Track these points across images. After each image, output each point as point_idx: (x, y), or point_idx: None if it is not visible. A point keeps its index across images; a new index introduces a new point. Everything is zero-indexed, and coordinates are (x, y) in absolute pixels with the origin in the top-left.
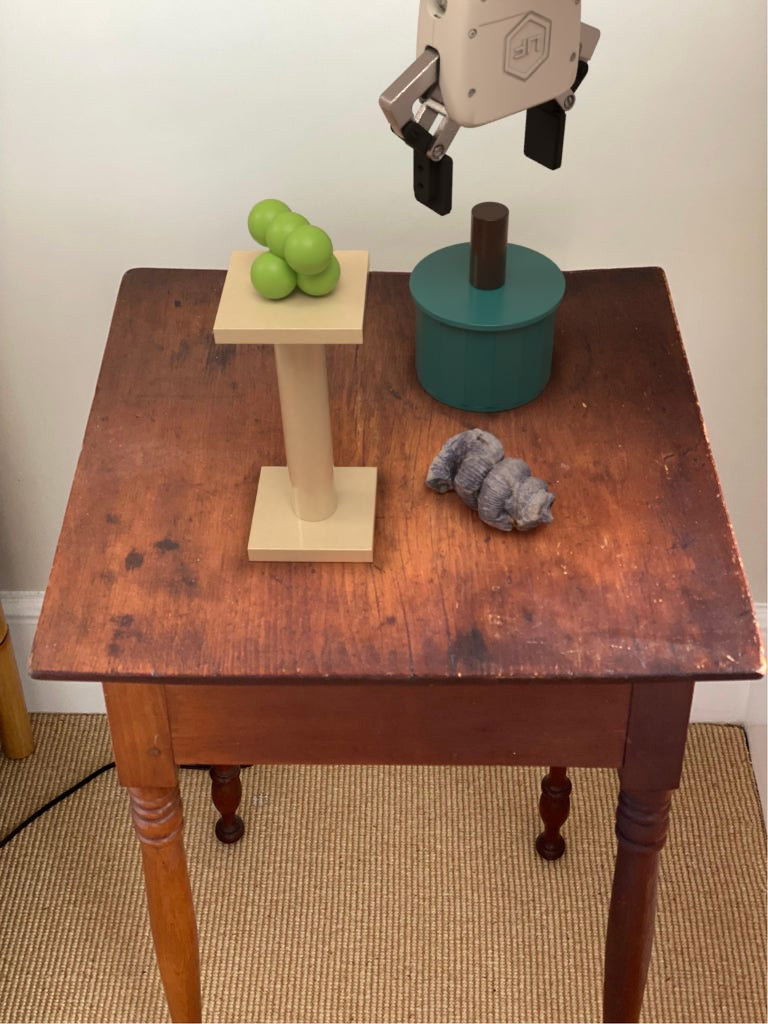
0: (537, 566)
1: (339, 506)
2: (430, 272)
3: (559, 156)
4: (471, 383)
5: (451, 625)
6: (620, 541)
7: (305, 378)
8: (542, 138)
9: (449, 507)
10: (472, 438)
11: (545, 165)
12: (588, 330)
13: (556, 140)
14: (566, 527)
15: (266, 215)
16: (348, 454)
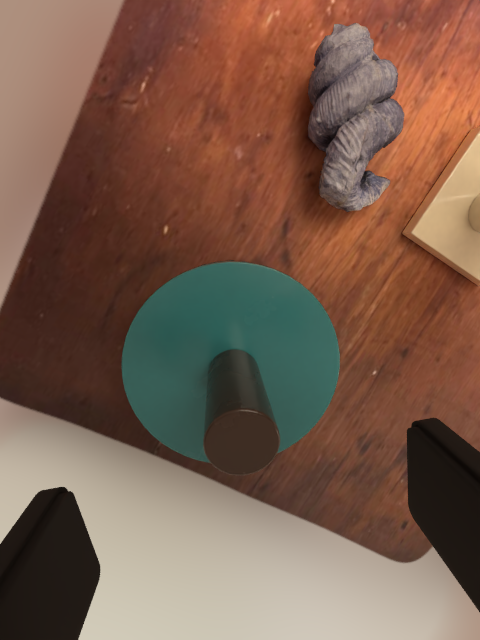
0: None
1: (472, 198)
2: (288, 422)
3: (29, 518)
4: None
5: (465, 3)
6: (256, 8)
7: None
8: (45, 603)
9: None
10: (362, 165)
11: (76, 511)
12: (93, 336)
13: (9, 576)
14: (291, 64)
15: None
16: (401, 279)
